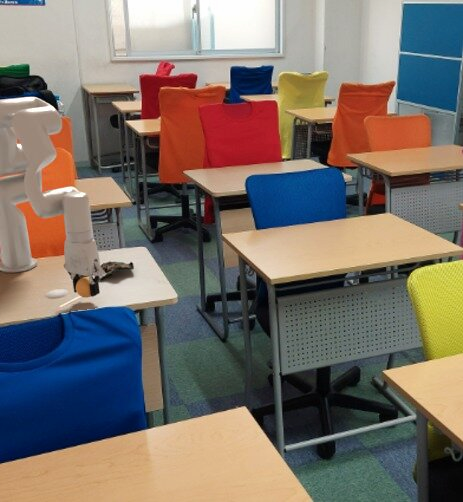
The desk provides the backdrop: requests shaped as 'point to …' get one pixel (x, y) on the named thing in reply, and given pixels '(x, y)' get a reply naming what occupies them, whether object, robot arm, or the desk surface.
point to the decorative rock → (113, 267)
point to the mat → (59, 295)
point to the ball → (83, 287)
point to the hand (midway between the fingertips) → (86, 292)
